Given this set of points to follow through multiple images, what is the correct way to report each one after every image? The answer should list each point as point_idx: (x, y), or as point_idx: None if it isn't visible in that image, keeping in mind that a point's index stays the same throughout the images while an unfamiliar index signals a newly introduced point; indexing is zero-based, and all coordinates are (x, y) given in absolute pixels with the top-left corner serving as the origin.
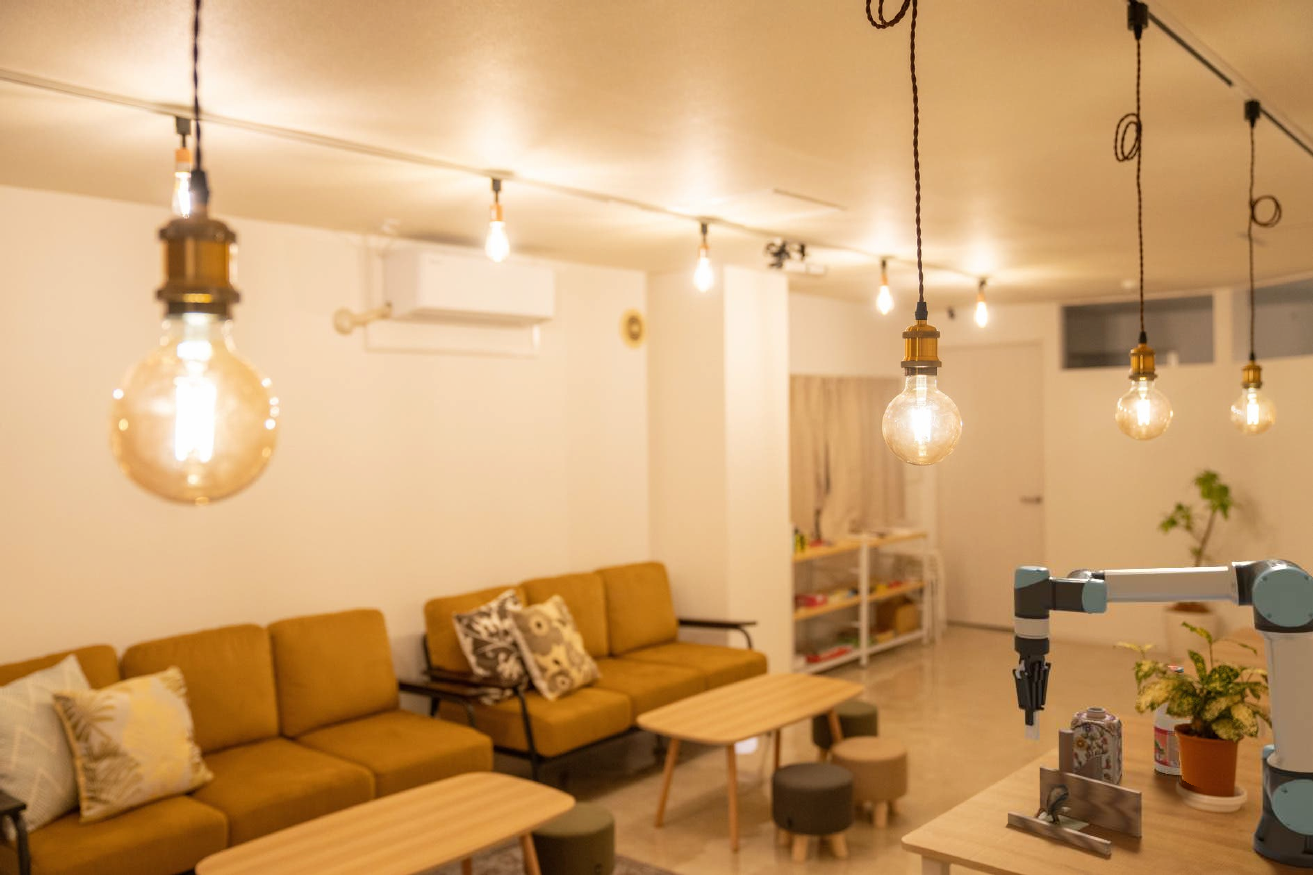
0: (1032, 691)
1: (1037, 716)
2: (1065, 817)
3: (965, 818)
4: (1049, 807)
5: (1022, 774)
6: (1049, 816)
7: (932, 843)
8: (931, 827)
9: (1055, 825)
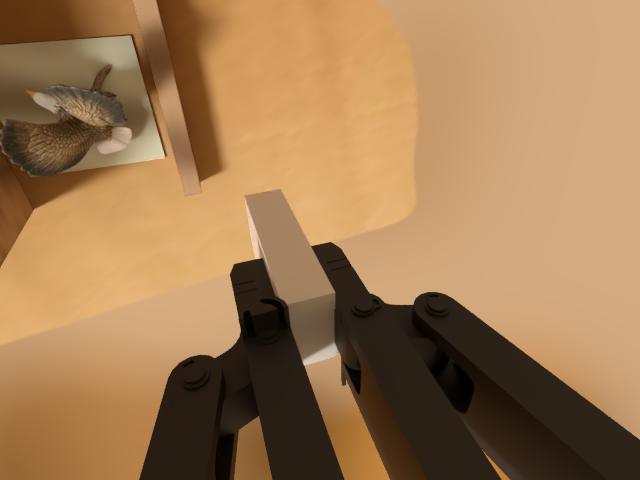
0: (483, 453)
1: (300, 272)
2: None
3: None
4: (123, 118)
5: None
6: None
7: (406, 186)
8: (346, 237)
9: (155, 63)
